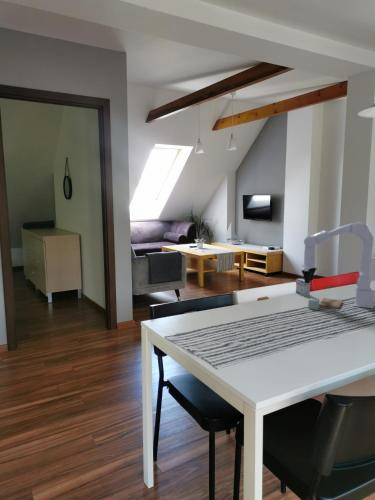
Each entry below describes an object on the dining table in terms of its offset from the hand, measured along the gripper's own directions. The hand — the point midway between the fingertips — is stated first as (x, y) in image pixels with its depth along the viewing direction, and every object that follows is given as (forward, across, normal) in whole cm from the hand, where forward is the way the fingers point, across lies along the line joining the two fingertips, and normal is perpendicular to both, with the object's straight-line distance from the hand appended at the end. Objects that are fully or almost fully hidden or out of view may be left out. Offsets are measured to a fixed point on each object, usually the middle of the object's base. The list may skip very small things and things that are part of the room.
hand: (308, 281), depth 210 cm
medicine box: (+10, -10, -6) cm, 16 cm away
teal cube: (+10, +15, +6) cm, 19 cm away
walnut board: (+10, +4, +13) cm, 17 cm away
